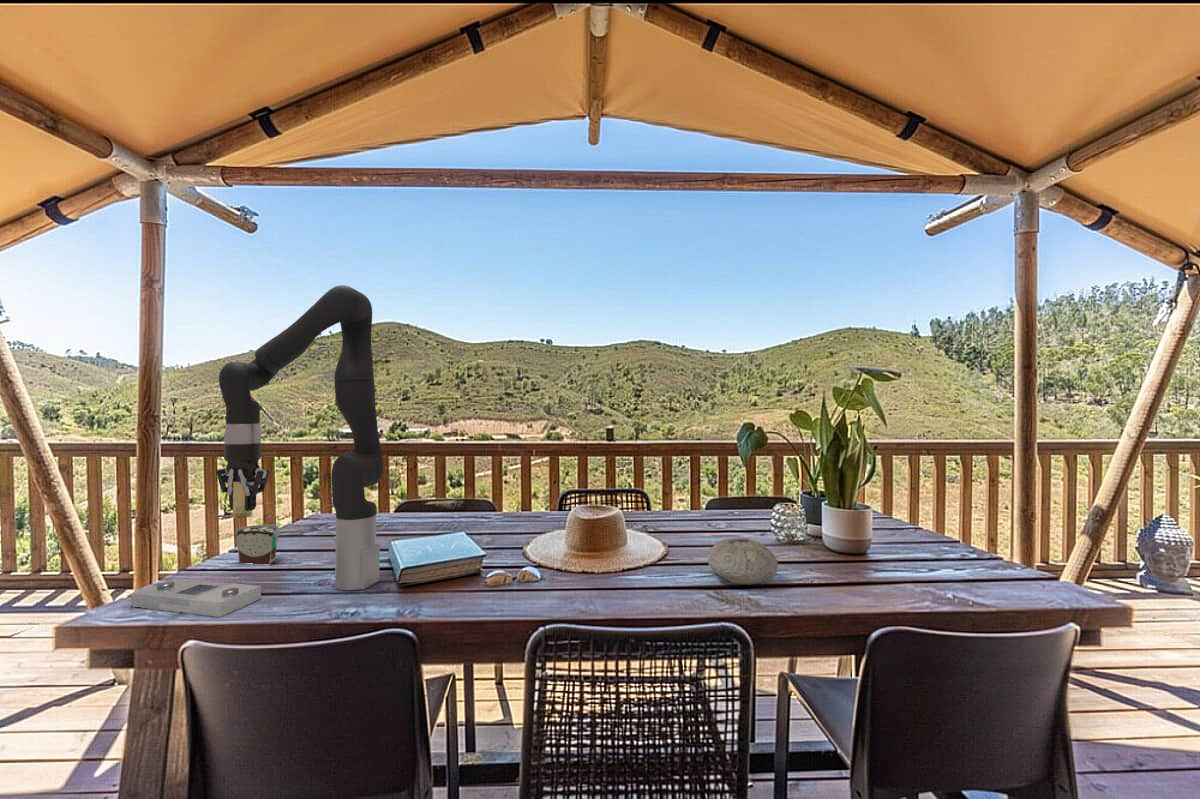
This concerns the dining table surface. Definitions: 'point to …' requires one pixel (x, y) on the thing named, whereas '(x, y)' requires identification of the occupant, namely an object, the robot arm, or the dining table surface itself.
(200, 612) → the studded base plate
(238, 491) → the brass pin
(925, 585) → the dining table surface
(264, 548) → the food container
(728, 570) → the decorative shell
